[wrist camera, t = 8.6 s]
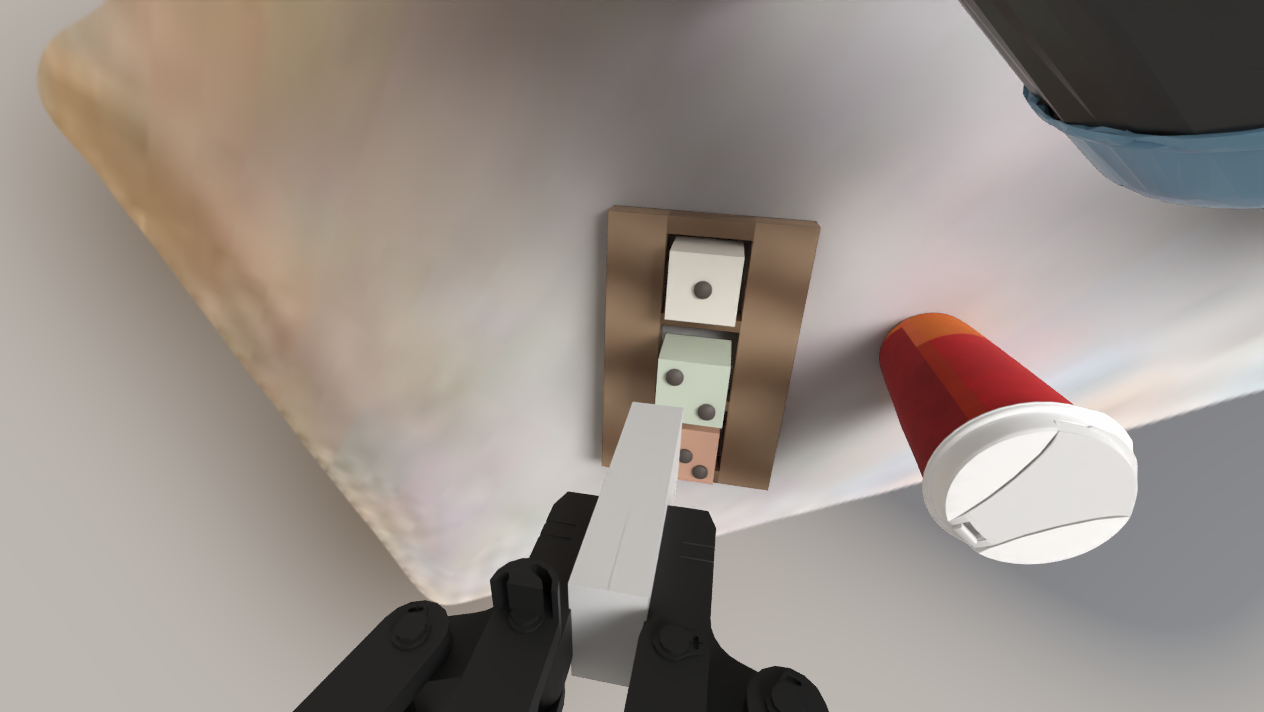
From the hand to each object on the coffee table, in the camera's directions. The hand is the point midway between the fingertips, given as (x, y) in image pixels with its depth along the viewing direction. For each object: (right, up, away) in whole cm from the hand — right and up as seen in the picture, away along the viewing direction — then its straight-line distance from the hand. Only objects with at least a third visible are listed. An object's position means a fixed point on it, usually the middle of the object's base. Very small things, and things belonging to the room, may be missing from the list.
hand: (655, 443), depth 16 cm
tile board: (+4, +3, +23) cm, 23 cm away
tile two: (+4, +2, +21) cm, 21 cm away
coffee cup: (+19, +3, +20) cm, 28 cm away
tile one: (+4, +8, +20) cm, 22 cm away
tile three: (+4, -3, +25) cm, 26 cm away
